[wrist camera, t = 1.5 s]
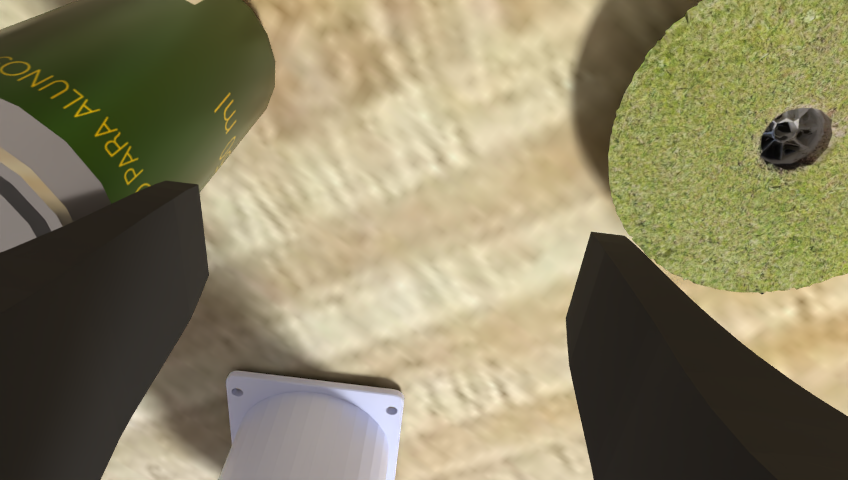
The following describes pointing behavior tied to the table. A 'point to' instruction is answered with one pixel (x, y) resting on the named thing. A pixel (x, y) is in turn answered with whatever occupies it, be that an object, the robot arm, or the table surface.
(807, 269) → the green disc with hole
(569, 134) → the table surface
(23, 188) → the beer can
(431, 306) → the table surface
